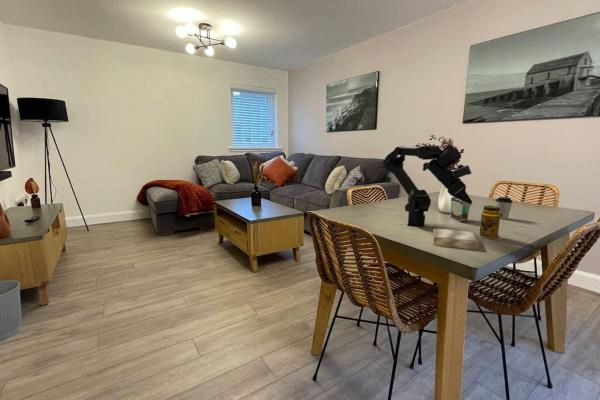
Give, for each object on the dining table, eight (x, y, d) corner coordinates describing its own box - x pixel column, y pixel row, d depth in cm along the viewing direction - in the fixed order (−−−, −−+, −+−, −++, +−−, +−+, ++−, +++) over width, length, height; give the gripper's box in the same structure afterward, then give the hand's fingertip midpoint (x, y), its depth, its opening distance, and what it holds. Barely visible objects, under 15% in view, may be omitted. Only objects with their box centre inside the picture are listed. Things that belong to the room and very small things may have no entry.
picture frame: (433, 244, 106) (434, 236, 106) (432, 235, 117) (433, 228, 117) (478, 249, 101) (479, 241, 100) (473, 239, 112) (474, 231, 111)
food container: (475, 223, 134) (478, 201, 132) (462, 223, 134) (464, 201, 132) (461, 216, 146) (463, 196, 144) (449, 216, 146) (450, 196, 144)
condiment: (479, 238, 113) (483, 207, 111) (475, 232, 121) (478, 203, 119) (501, 240, 111) (505, 209, 108) (496, 234, 118) (500, 204, 116)
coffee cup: (502, 220, 138) (505, 199, 136) (489, 217, 145) (492, 197, 143) (514, 219, 140) (517, 199, 138) (501, 216, 146) (503, 196, 144)
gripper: (461, 159, 107) (493, 191, 104) (456, 157, 123) (484, 184, 121) (435, 180, 111) (465, 210, 109) (434, 175, 128) (460, 201, 126)
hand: (469, 201), depth 116 cm, fingers open, 9 cm apart
